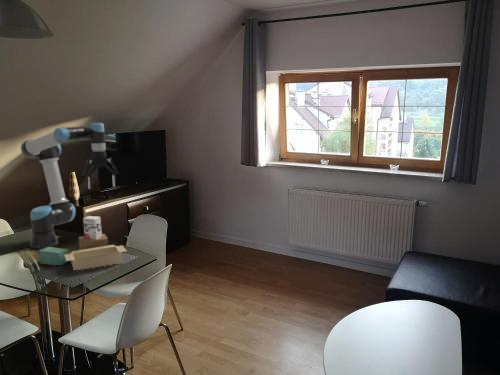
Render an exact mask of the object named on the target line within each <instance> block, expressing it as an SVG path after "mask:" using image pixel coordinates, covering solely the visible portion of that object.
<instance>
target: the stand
mask: <svg viewBox="0 0 500 375" xmlns="http://www.w3.org/2000/svg"><path fill="white" fill-rule="evenodd" d="M108 245H109V240H108V236H107V235H106V234H105V233H102V237H101V238H98V239H90V238H85V236H79V237H78V246H79V247H78V248H79V250H82V249H89V248H95V247H102V246H108Z"/></svg>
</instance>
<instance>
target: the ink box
mask: <svg viewBox="0 0 500 375" xmlns="http://www.w3.org/2000/svg"><path fill="white" fill-rule="evenodd" d="M101 219H102V218H101V216H96V215H95V216H94V215H93V216H92V215H87V216H84V217H82V222H83V233H84V234H83V235H84V237H85V238H90V239H98V238H101V237H102V234H103V232H102V223H101V222H102V220H101Z"/></svg>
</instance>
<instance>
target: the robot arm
mask: <svg viewBox="0 0 500 375" xmlns="http://www.w3.org/2000/svg"><path fill="white" fill-rule="evenodd" d="M73 141H76V142H77V141H90V142H91V143H90V146H91V156H92V159H86V164H85V166H84V169H83V171H82V173H81V176H82V177H83V178H85V183H86V184H87V187H88V188H87V189H88V190H91V182H90V179H91V178H90V177H89V176H90V175H91V173H92V172H93V171H94V169H96V168H103V167H105V168H107V170H109V171H110V173H112V175H111V176H112V180H111V181H112V187H116V181H117V175H119V174H120V172H119V169H118V168H117V166H116V165H115V163H114V161H113V158H112V157H110V158H108V157H107V151H106V150H107V149H106V148H107V146H106V135H105V125H104V123H102V122H93V123H90V124H89V126H82V125H81V126H72V127H71V126H69V127H63V126H62V127H57V128H55V129H54V130H53V131H52V132H50V133H47V134H45V135H42V136H40V137H37V138H30V139H27V140H24V141H23V142H22V144H21V145H20V151H21V154H23V156H25V157H26V158H28V159H38V162H39V163H41V165H42V168H43V172H44V177H45V180H46V186H47V191H48V193H49V198H50V202H49V204H48V205H40V206H37V207H35V208H32V210H31V211H30V222H31V225H30V226H31V230H32V231H31V232H32V233H31V234H32V235H31V239H30V244H29V245H30V248H31V249H33V250H42V249H44V248H47V247H53V248H54V247H55V246H57V245H58V244H59V239H58V237H57V236H56V232H55V230H54V229H55V228H54V226H59V225H64V224H66V223H69V222H72V221H73V220H74V219H75V217H76V211H77V210H76V207H75V205H74V203H71V202H70V200H69V199H67V198H66V193H65V189H64V185H63V181H62V180H63V179H62V176H61V172H60V168H59V164H58V161H59V160H60V156H61V154H62V146H61V144H64V143H67V142H73ZM91 163H92V164H93V165H91V167H90V164H91ZM107 163H110V165H111V167H112V168H111V167H110V166H109V165H108V164H107ZM89 167H90V169H89Z"/></svg>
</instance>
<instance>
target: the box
mask: <svg viewBox="0 0 500 375" xmlns="http://www.w3.org/2000/svg"><path fill="white" fill-rule="evenodd" d="M65 254H70V253H69V249H67V248H62V247H61V248H60V247H54V246H53V247H47V248H44V249H38V257H39V258H38V259H39V264H41V265H42V264H43V265H51V266H56V265H61V266H62V264H63V265H65V264H66V263H65V262H67V261H66V259H65V256H64V255H65ZM64 263H65V264H64ZM67 263H68V262H67Z"/></svg>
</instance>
